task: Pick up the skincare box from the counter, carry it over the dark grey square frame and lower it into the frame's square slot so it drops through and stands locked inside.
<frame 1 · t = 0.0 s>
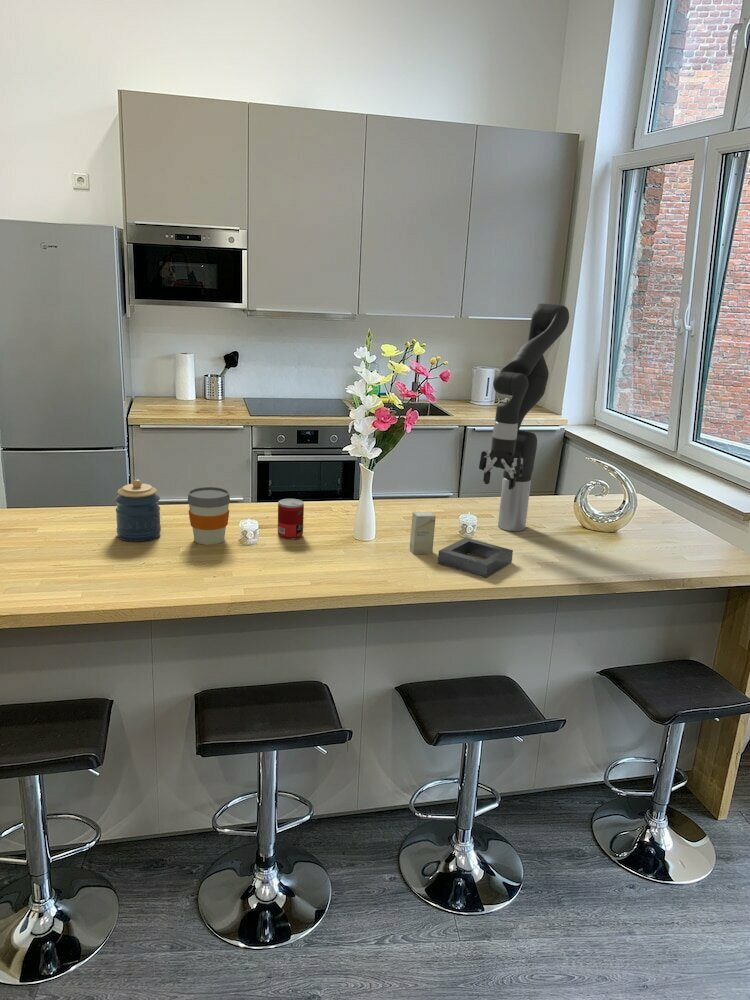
hand: (498, 486, 248), 17 cm above the countertop, tool pointing down, fingers open, 8 cm apart
reusable coffee cup: (209, 540, 237), on the countertop
skincare box: (421, 552, 237), on the countertop
canister: (139, 535, 237), on the countertop
dark grey square frame: (474, 563, 230), on the countertop
canned food: (290, 536, 244), on the countertop
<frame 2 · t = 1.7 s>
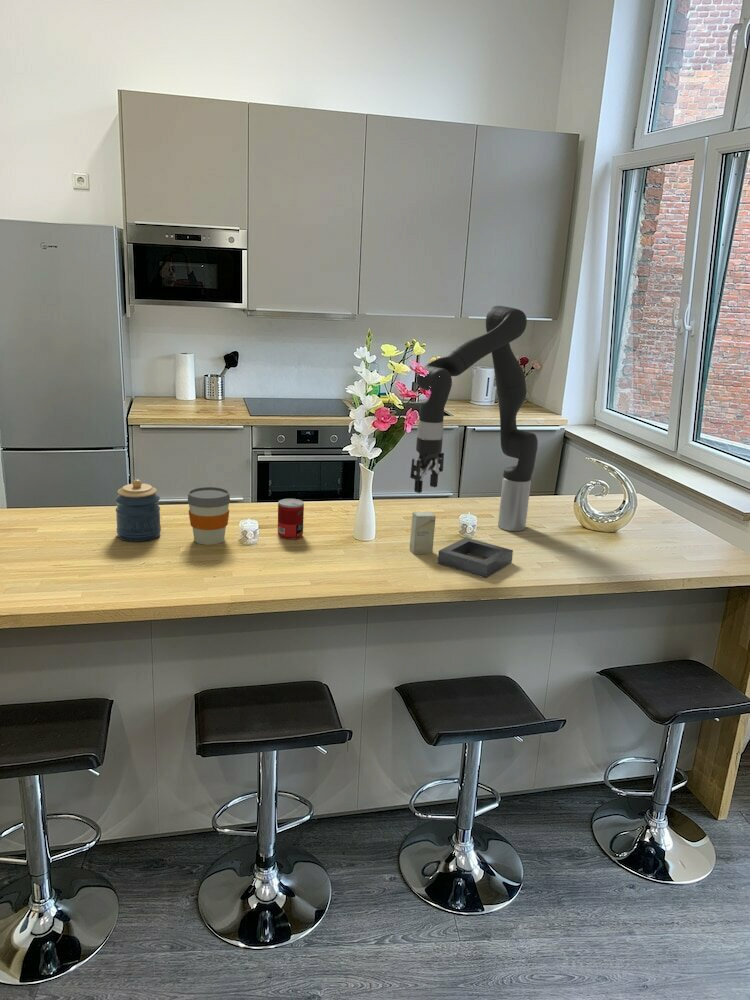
hand: (425, 489, 231), 20 cm above the countertop, tool pointing down, fingers open, 8 cm apart
nothing on the countertop moved.
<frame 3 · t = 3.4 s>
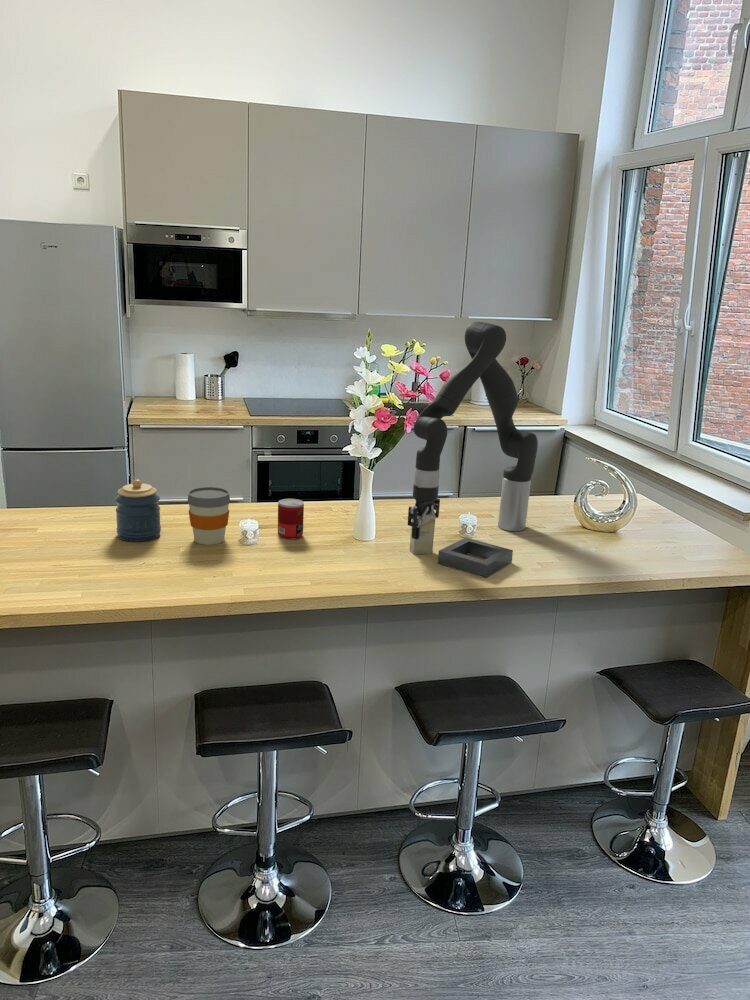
hand: (422, 535, 235), 5 cm above the countertop, tool pointing down, fingers closed on skincare box, 7 cm apart
skincare box: (421, 552, 237), on the countertop, touching gripper
everything else where it was.
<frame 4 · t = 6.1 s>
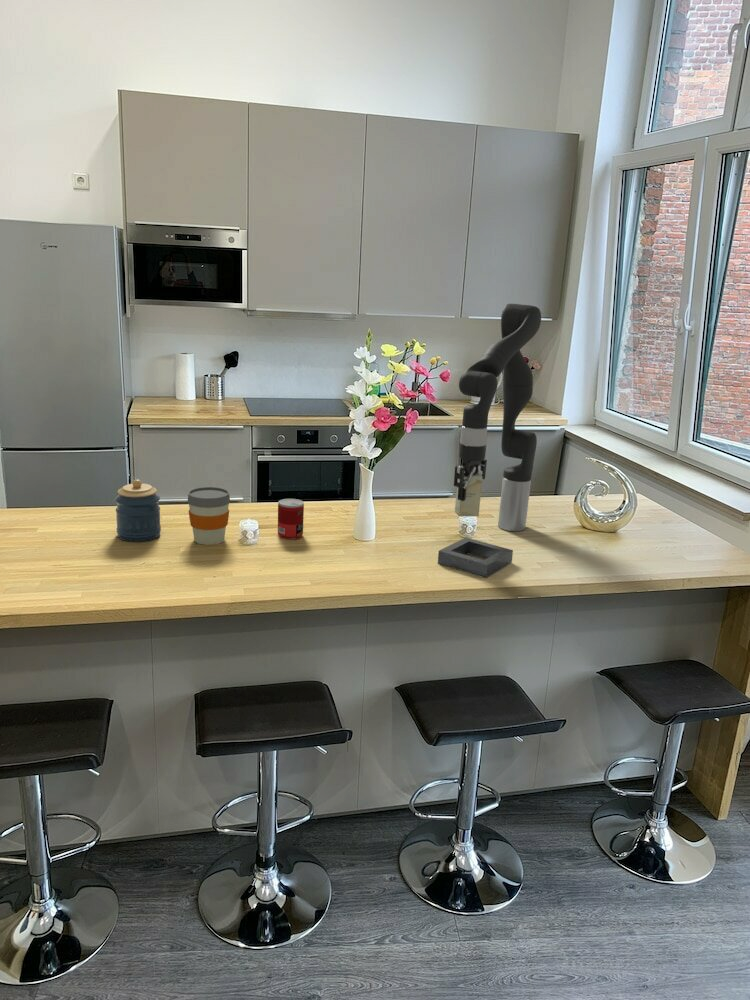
hand: (468, 497, 226), 20 cm above the countertop, tool pointing down, fingers closed on skincare box, 7 cm apart
skincare box: (466, 515, 227), point 14 cm above the countertop, touching gripper
everything else where it was.
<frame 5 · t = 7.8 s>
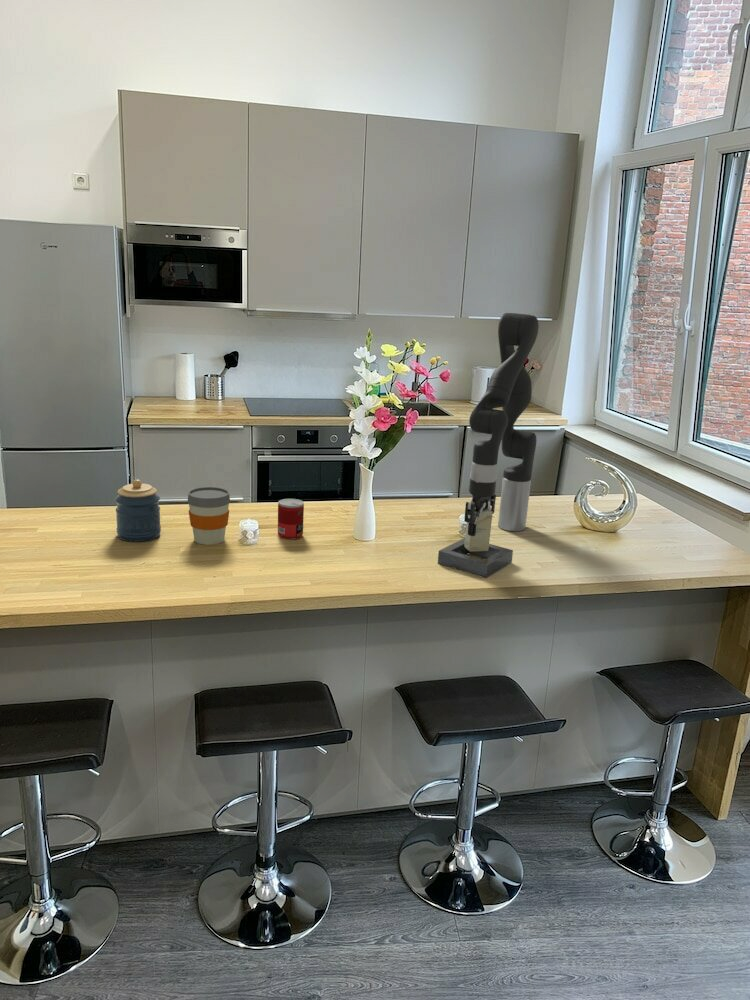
hand: (478, 532, 227), 10 cm above the countertop, tool pointing down, fingers closed on skincare box, 7 cm apart
skincare box: (476, 549, 228), point 4 cm above the countertop, touching gripper
everything else where it was.
when the fingers open (7 cm above the countertop, at t = 9.0 s): skincare box drops 1 cm, resting in dark grey square frame.
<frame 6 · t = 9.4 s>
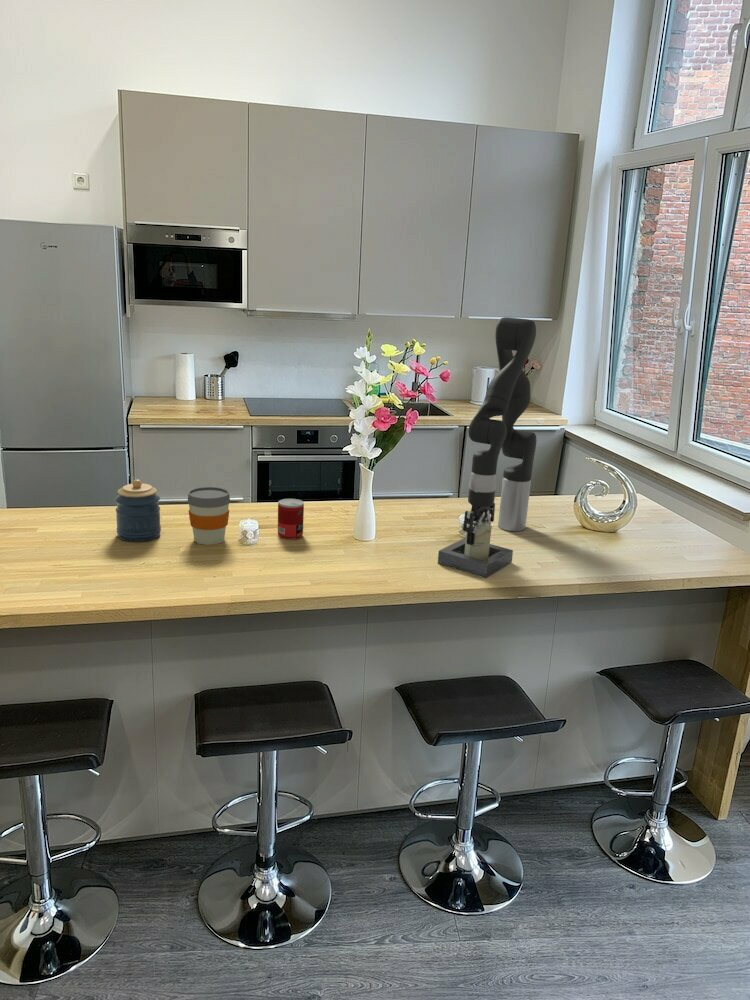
hand: (477, 540, 228), 7 cm above the countertop, tool pointing down, fingers open, 8 cm apart
skincare box: (475, 563, 230), resting in dark grey square frame, touching gripper
everything else where it was.
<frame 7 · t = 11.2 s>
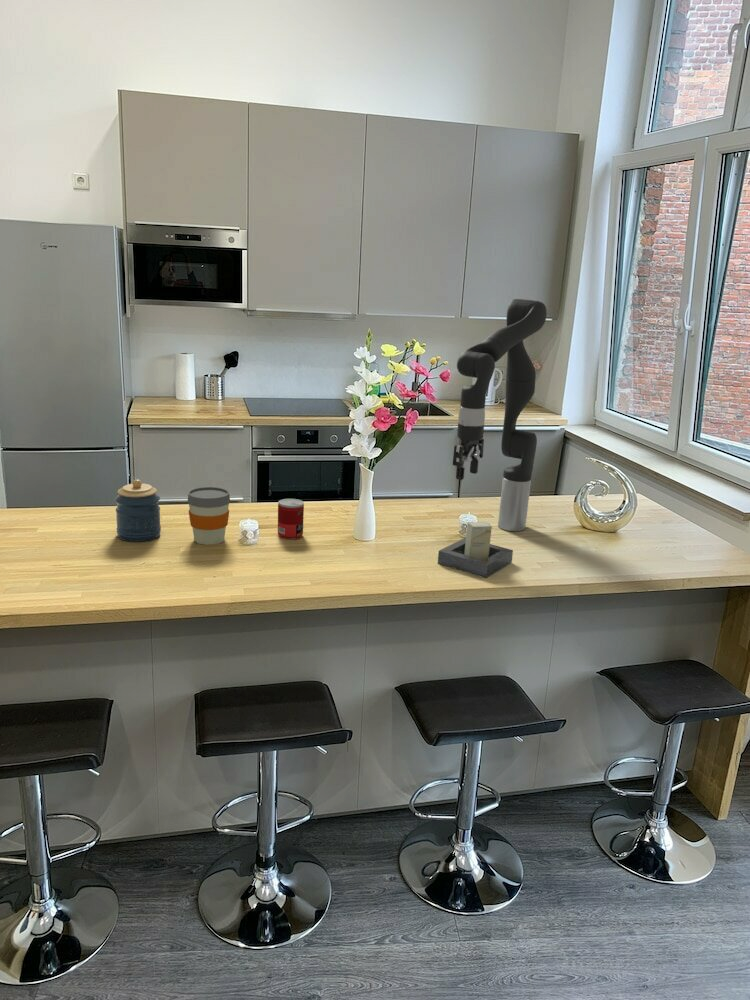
hand: (466, 476, 229), 25 cm above the countertop, tool pointing down, fingers open, 8 cm apart
skincare box: (475, 563, 230), resting in dark grey square frame
everything else where it was.
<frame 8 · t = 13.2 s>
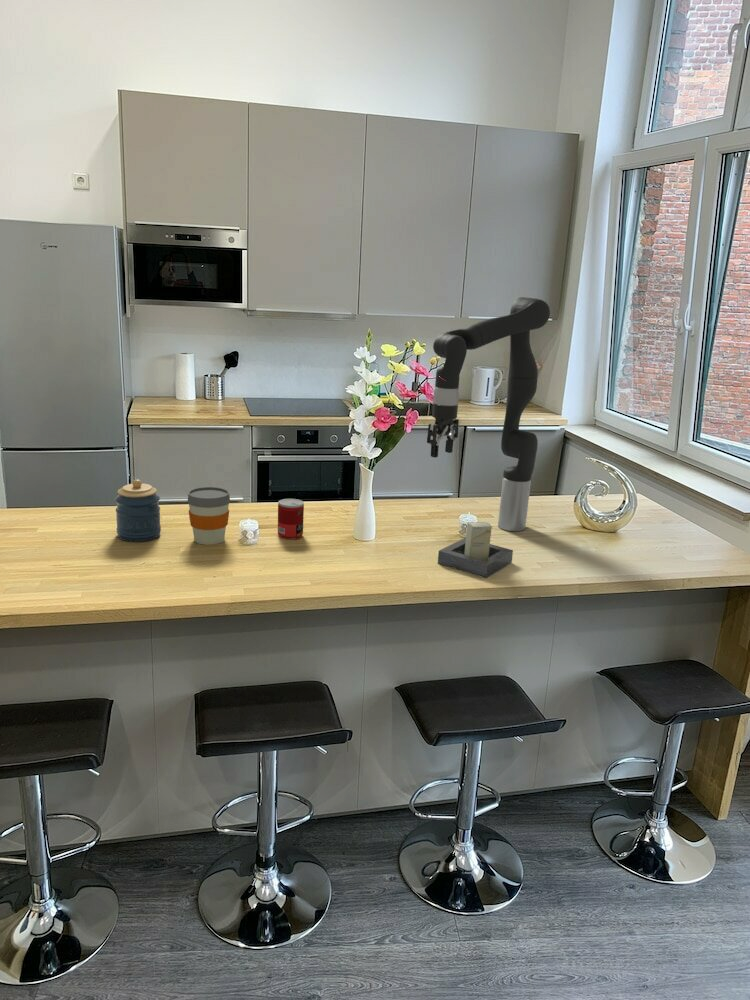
hand: (441, 454, 238), 28 cm above the countertop, tool pointing down, fingers open, 8 cm apart
nothing on the countertop moved.
at the end: skincare box 0.5 cm off-centre on the dark grey square frame, point 0.0 cm above the dark grey square frame's base; skincare box tilted 0°; the gripper is holding nothing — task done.
